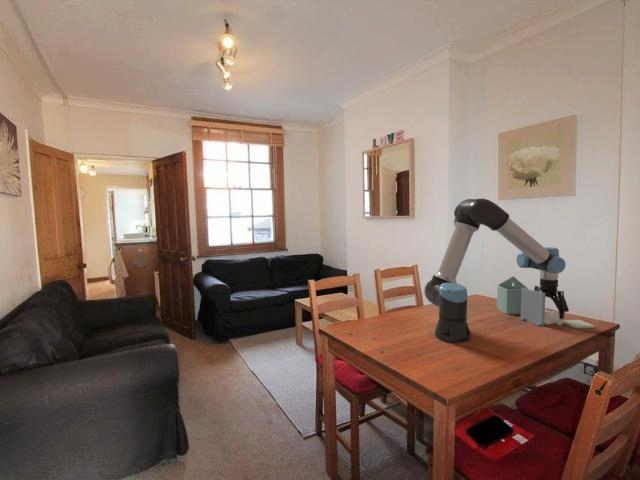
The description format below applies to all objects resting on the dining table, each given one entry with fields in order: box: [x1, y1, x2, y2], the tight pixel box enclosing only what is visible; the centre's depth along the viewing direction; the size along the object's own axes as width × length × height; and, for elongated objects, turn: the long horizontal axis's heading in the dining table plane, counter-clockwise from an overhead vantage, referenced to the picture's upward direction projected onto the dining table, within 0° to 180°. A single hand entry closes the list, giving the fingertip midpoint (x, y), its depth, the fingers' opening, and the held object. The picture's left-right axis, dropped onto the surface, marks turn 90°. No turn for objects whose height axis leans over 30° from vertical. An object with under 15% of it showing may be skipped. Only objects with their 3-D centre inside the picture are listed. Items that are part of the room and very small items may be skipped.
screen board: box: [518, 288, 547, 327], centre depth 172 cm, size 12×5×16 cm, turn 18°
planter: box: [496, 275, 529, 315], centre depth 188 cm, size 16×8×20 cm, turn 40°
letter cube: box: [544, 307, 559, 325], centre depth 173 cm, size 6×6×6 cm
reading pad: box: [563, 319, 596, 329], centre depth 167 cm, size 9×9×1 cm
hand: (547, 321), depth 173 cm, fingers open, 12 cm apart
